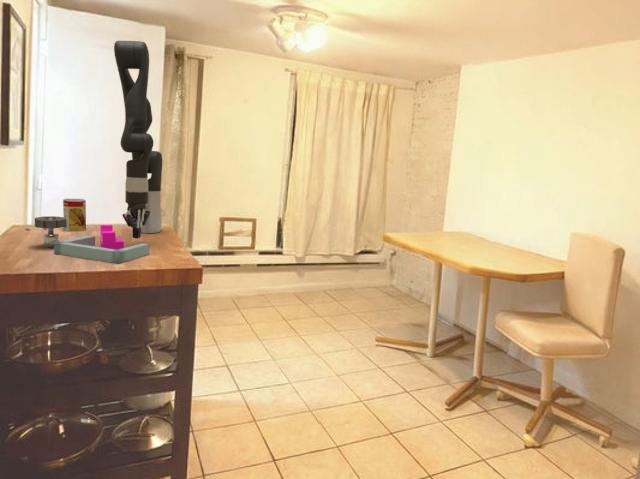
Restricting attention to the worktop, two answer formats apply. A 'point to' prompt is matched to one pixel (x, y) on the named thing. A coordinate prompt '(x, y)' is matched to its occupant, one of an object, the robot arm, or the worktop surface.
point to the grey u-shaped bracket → (99, 250)
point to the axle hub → (50, 238)
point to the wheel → (50, 222)
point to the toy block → (110, 238)
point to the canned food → (74, 214)
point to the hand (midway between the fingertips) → (136, 238)
